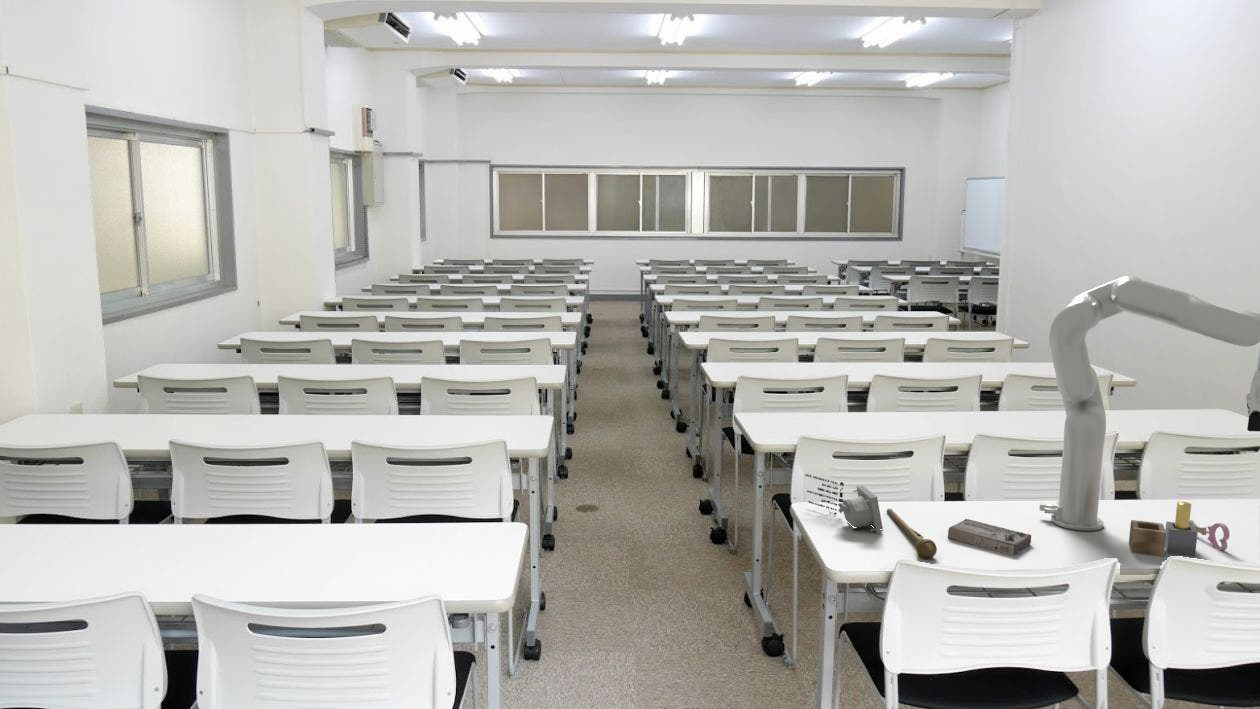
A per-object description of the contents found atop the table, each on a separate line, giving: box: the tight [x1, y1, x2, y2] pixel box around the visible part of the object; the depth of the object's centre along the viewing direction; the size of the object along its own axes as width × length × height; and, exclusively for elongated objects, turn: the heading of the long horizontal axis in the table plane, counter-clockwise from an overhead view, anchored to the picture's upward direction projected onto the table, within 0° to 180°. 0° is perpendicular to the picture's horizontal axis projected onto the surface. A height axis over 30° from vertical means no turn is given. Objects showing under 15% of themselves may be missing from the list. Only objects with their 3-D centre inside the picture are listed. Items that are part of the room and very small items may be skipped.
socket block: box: [1165, 521, 1199, 557], centre depth 239 cm, size 6×6×6 cm
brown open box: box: [1128, 519, 1166, 557], centre depth 239 cm, size 7×7×6 cm
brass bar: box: [1174, 501, 1192, 530], centre depth 238 cm, size 3×3×12 cm
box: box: [947, 518, 1032, 557], centre depth 245 cm, size 11×17×3 cm, turn 47°
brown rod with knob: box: [886, 508, 938, 559], centre depth 248 cm, size 5×35×5 cm
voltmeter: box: [804, 473, 884, 534], centre depth 259 cm, size 27×11×10 cm, turn 44°
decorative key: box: [1189, 519, 1230, 551], centre depth 247 cm, size 7×1×20 cm
